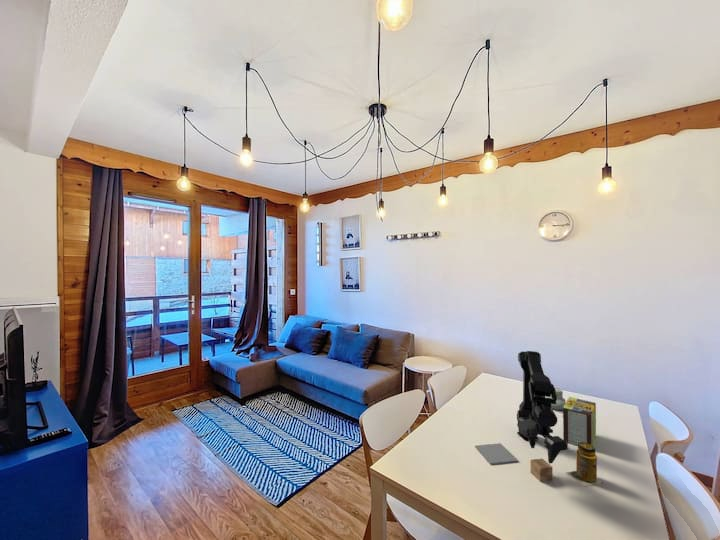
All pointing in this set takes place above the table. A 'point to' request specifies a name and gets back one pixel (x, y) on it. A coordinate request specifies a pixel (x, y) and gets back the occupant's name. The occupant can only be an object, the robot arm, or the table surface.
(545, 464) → the walnut cube
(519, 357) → the robot arm
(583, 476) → the condiment
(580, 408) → the protein box
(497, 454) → the slate pad
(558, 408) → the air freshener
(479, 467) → the table surface
